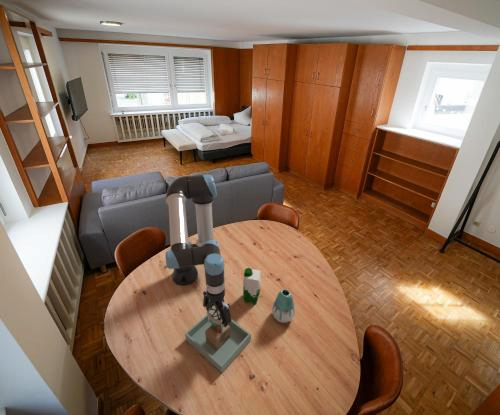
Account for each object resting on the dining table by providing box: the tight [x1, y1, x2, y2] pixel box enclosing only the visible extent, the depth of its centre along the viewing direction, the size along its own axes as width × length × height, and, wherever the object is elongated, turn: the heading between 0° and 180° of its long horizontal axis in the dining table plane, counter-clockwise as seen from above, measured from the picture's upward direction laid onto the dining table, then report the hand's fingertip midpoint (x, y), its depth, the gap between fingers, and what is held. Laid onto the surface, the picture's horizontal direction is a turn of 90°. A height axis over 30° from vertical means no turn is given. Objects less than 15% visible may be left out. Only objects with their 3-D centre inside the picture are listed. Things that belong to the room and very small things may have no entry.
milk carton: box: [242, 267, 262, 305], centre depth 143 cm, size 9×9×20 cm
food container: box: [208, 304, 222, 333], centre depth 118 cm, size 12×6×10 cm, turn 179°
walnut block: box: [205, 325, 230, 351], centre depth 124 cm, size 9×7×8 cm
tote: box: [184, 314, 252, 374], centre depth 125 cm, size 24×20×5 cm
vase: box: [271, 288, 296, 324], centre depth 134 cm, size 12×12×18 cm
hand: (217, 324), depth 120 cm, fingers closed on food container, 8 cm apart
